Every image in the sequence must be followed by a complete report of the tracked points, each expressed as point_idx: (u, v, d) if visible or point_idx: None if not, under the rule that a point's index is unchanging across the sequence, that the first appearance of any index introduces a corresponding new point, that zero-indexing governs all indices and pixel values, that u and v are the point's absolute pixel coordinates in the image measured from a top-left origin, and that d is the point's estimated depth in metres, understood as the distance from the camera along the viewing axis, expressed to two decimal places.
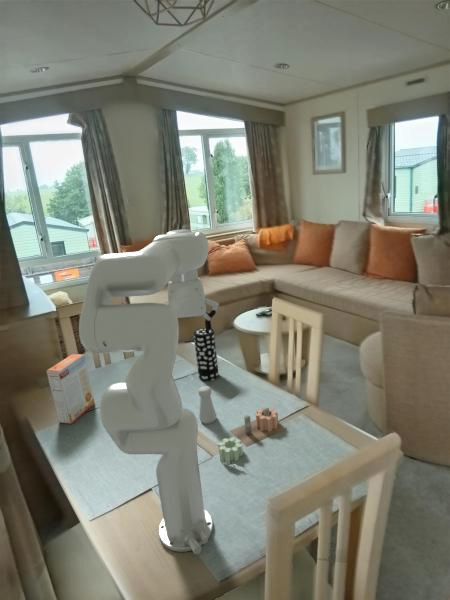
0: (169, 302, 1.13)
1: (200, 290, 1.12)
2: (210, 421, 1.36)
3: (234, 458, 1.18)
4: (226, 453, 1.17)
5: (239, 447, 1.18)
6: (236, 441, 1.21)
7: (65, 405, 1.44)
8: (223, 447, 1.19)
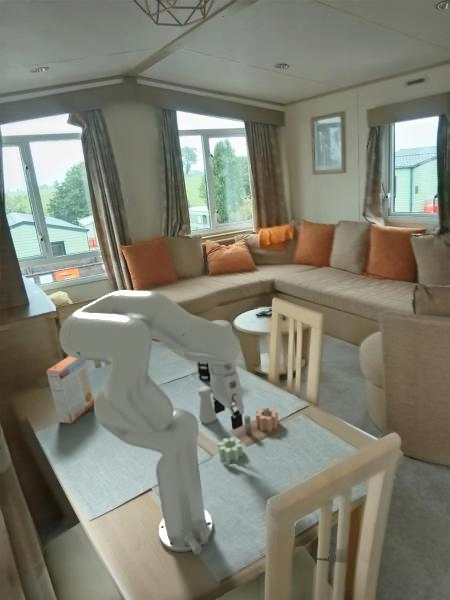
0: None
1: None
2: (210, 421, 1.36)
3: (234, 458, 1.18)
4: (226, 453, 1.17)
5: (239, 447, 1.18)
6: (236, 441, 1.21)
7: (65, 405, 1.44)
8: (223, 447, 1.19)
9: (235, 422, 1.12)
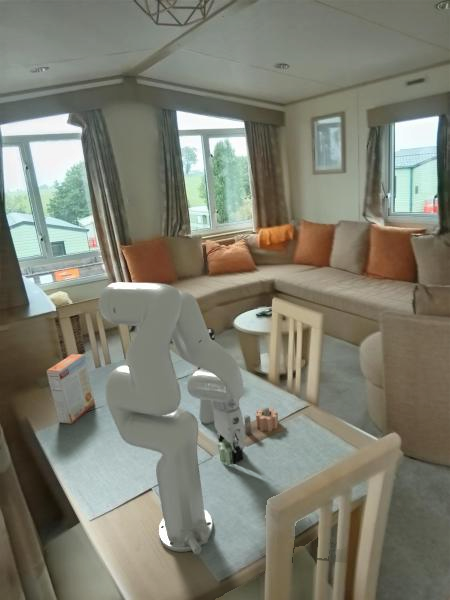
0: (243, 425, 1.15)
1: None
2: (210, 421, 1.36)
3: None
4: (226, 453, 1.17)
5: None
6: None
7: (65, 405, 1.44)
8: (223, 447, 1.19)
9: (236, 457, 1.16)
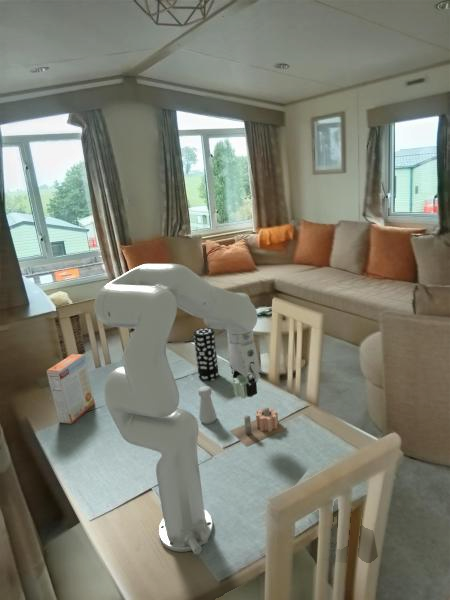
0: (257, 358, 1.19)
1: None
2: (210, 421, 1.36)
3: None
4: (241, 386, 1.21)
5: None
6: (250, 377, 1.25)
7: (65, 405, 1.44)
8: (238, 381, 1.23)
9: (250, 390, 1.20)
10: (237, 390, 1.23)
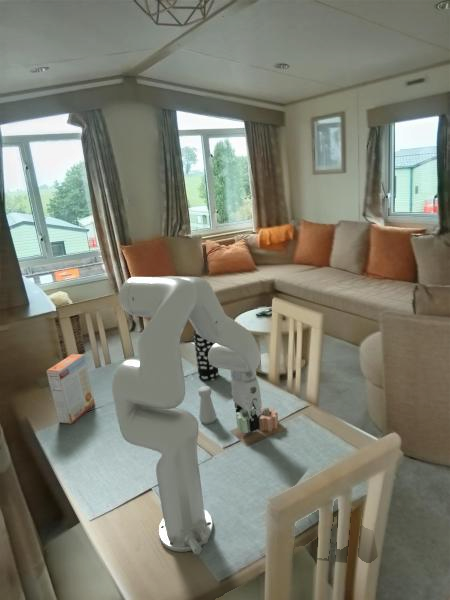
0: None
1: None
2: (210, 421, 1.36)
3: None
4: (244, 421, 1.24)
5: None
6: (253, 411, 1.28)
7: (65, 405, 1.44)
8: (241, 416, 1.26)
9: (253, 425, 1.24)
10: (240, 425, 1.26)
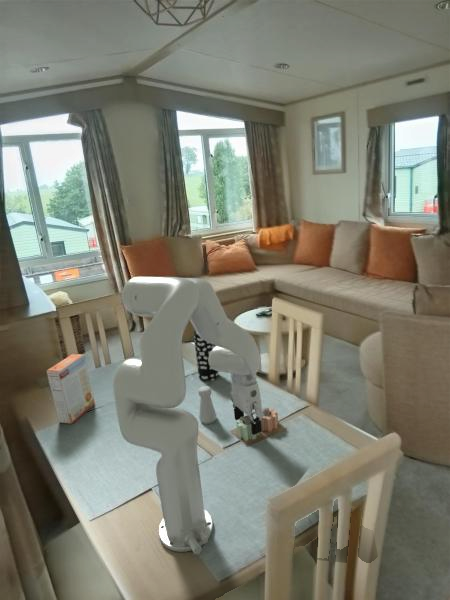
0: (260, 398, 1.23)
1: None
2: (210, 421, 1.36)
3: (251, 434, 1.26)
4: (244, 429, 1.25)
5: None
6: None
7: (65, 405, 1.44)
8: (241, 424, 1.27)
9: (255, 428, 1.23)
10: (240, 432, 1.27)
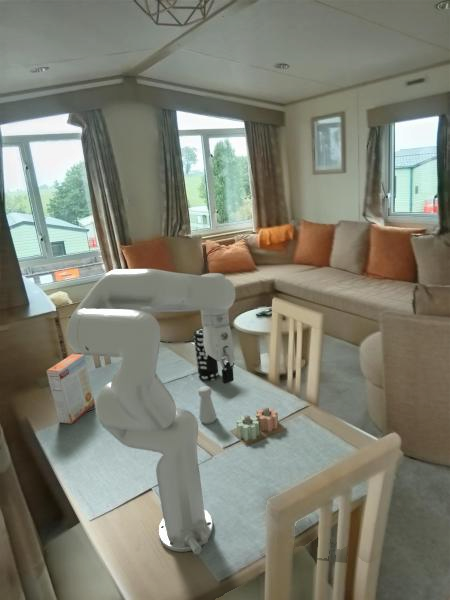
0: (232, 343, 1.12)
1: None
2: (210, 421, 1.36)
3: (251, 434, 1.26)
4: (244, 429, 1.25)
5: (256, 424, 1.27)
6: (253, 419, 1.29)
7: (65, 405, 1.44)
8: (241, 424, 1.27)
9: (226, 376, 1.12)
10: (240, 432, 1.27)
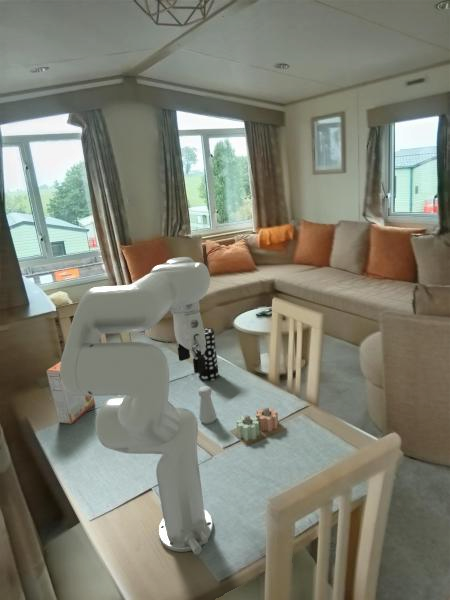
0: (203, 330, 1.07)
1: None
2: (210, 421, 1.36)
3: (251, 434, 1.26)
4: (244, 429, 1.25)
5: (256, 424, 1.27)
6: (253, 419, 1.29)
7: (65, 405, 1.44)
8: (241, 424, 1.27)
9: (197, 365, 1.07)
10: (240, 432, 1.27)
